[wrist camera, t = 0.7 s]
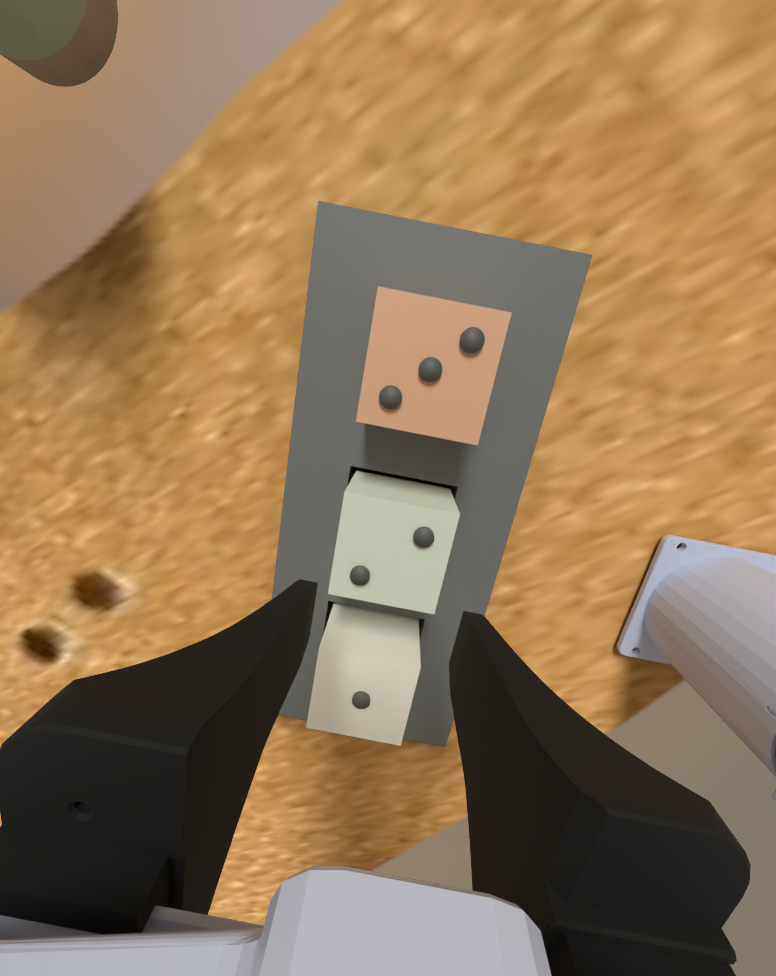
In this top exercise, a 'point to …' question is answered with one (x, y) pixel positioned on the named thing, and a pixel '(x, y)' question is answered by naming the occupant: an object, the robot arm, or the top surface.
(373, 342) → the key three
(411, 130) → the top surface
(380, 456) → the keypad board
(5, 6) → the coffee cup
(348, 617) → the key one
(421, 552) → the key two
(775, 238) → the top surface
